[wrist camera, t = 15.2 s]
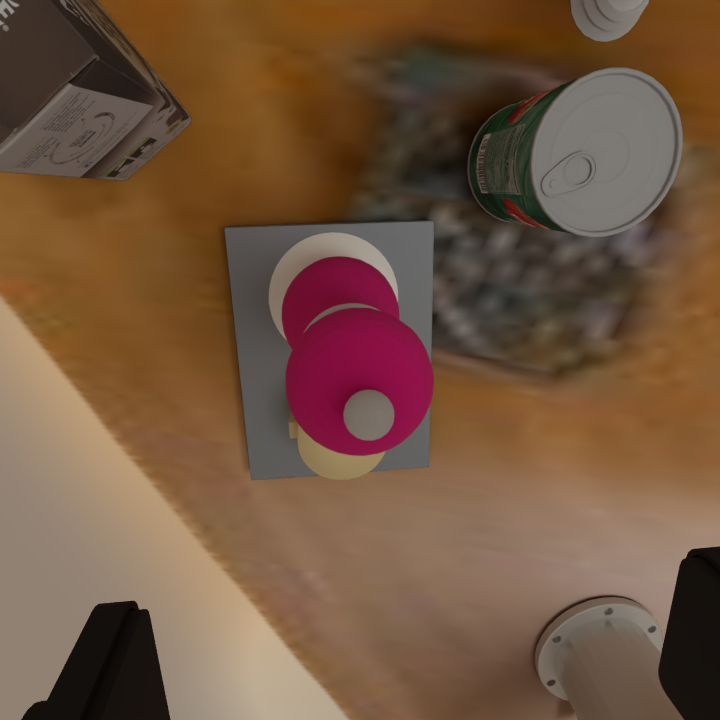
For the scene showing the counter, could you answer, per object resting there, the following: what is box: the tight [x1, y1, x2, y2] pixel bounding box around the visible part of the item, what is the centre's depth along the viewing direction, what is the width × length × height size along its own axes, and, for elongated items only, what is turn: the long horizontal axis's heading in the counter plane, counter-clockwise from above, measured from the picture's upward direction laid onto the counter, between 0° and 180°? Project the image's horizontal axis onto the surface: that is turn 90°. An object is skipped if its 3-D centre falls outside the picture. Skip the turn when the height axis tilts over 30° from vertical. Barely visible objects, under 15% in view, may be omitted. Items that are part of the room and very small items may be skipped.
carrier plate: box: [224, 220, 434, 480], centre depth 36 cm, size 19×14×6 cm
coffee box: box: [0, 0, 191, 181], centre depth 24 cm, size 9×6×16 cm
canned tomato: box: [467, 68, 683, 237], centre depth 31 cm, size 8×8×11 cm
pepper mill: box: [282, 256, 434, 456], centre depth 27 cm, size 7×7×20 cm
